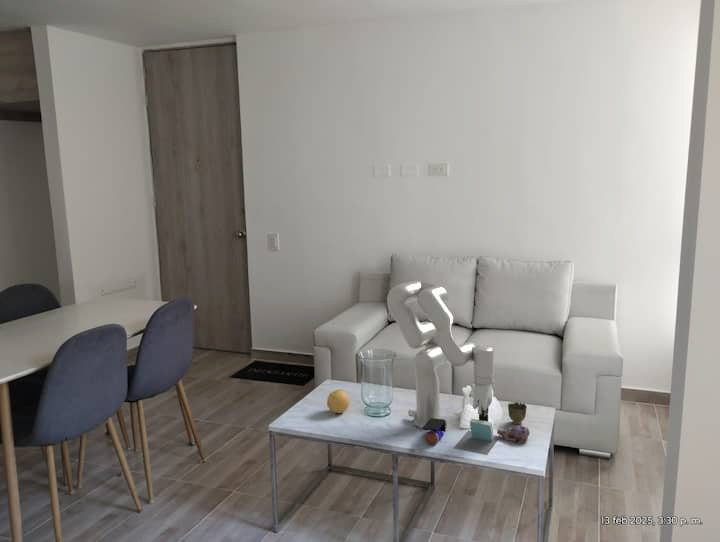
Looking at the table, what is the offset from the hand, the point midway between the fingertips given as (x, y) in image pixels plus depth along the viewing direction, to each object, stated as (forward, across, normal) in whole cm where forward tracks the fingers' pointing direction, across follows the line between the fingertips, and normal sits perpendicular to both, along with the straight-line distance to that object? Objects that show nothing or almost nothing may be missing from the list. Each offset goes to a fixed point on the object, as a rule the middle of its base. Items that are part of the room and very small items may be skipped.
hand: (483, 424), depth 228 cm
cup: (+6, -20, +8) cm, 22 cm away
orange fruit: (+6, +1, -65) cm, 65 cm away
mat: (+6, +4, -1) cm, 8 cm away
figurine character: (+6, +7, -17) cm, 20 cm away
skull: (+6, -4, +10) cm, 13 cm away
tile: (+5, 0, 0) cm, 5 cm away
